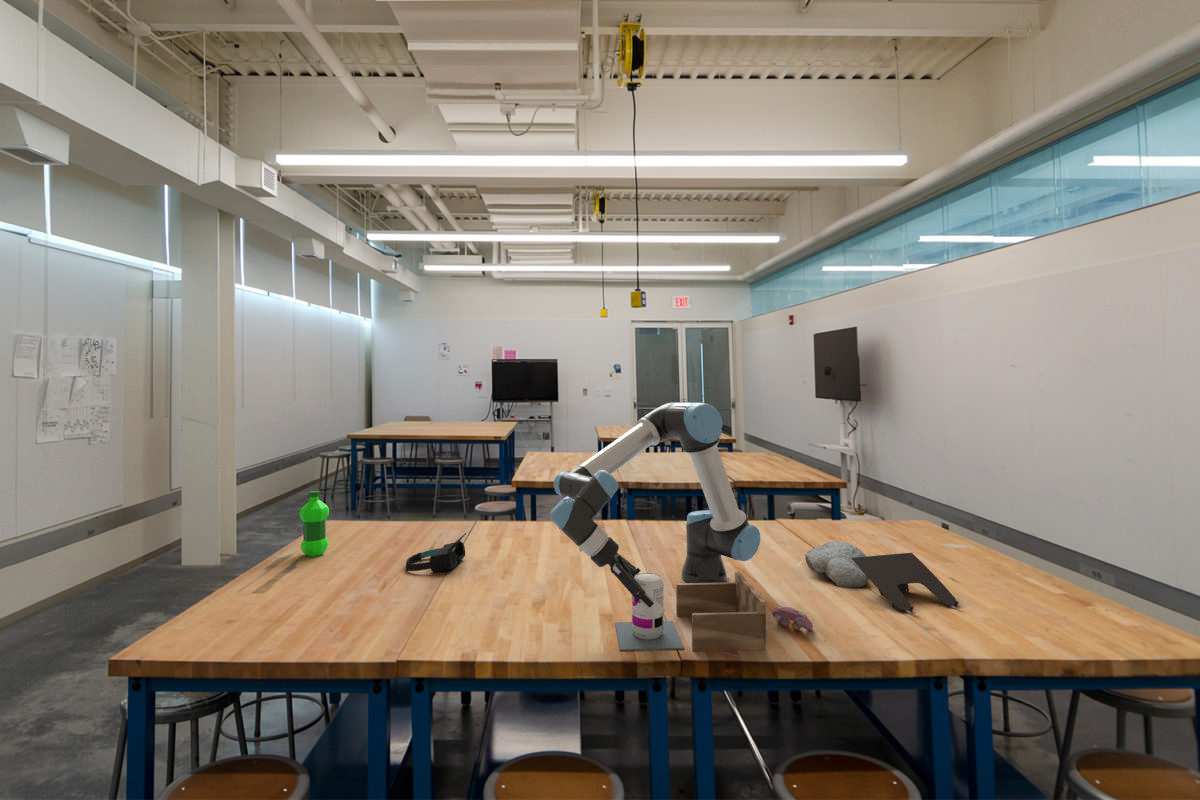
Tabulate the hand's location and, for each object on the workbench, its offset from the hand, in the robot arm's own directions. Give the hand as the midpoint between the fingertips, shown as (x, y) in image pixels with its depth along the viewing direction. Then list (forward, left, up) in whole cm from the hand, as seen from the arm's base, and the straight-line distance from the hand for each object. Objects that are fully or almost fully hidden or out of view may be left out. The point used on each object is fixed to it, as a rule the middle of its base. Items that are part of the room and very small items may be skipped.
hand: (656, 602), depth 145 cm
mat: (0, -2, -9) cm, 9 cm away
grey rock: (-45, +71, -9) cm, 85 cm away
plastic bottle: (-79, -124, -9) cm, 148 cm away
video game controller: (-3, +37, -9) cm, 39 cm away
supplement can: (0, -2, -8) cm, 9 cm away
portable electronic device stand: (-21, +81, -9) cm, 84 cm away
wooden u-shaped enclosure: (-2, +17, -9) cm, 19 cm away
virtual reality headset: (-63, -73, -9) cm, 97 cm away
